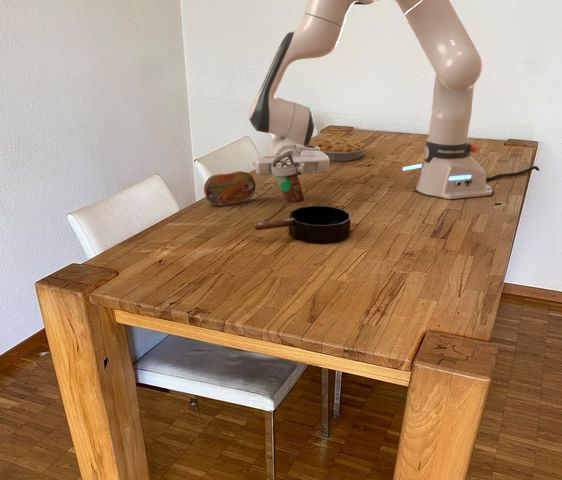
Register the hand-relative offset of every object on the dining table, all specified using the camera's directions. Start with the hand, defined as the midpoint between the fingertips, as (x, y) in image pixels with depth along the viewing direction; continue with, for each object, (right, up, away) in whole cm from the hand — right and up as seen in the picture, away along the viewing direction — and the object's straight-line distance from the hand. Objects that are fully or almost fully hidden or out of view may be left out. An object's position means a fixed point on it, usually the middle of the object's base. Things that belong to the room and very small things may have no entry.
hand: (295, 172), depth 154 cm
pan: (+1, -19, -9) cm, 21 cm away
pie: (+17, +27, +61) cm, 69 cm away
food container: (-1, -6, +2) cm, 7 cm away
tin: (-18, -5, +13) cm, 23 cm away
